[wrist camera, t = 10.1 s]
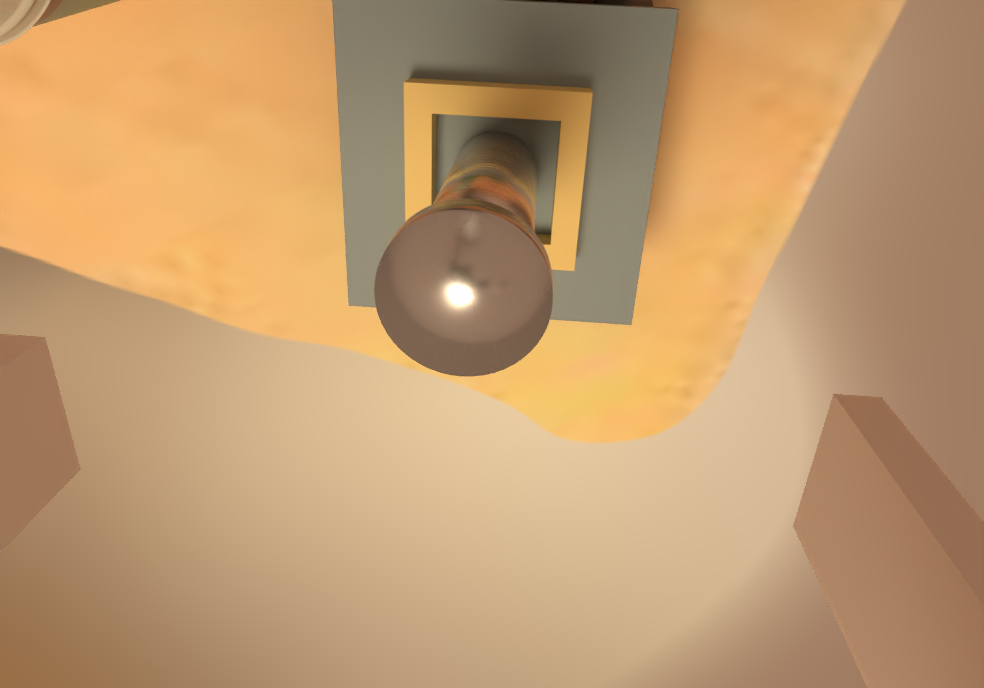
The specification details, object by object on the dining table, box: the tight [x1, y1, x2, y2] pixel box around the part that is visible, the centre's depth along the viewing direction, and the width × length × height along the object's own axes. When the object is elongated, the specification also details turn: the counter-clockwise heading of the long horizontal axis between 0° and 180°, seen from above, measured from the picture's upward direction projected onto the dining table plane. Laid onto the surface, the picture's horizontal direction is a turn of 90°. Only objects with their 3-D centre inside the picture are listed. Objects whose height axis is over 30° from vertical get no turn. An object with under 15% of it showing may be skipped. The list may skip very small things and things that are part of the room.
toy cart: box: [332, 0, 679, 325], centre depth 30 cm, size 13×12×9 cm
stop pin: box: [374, 131, 553, 376], centre depth 22 cm, size 4×4×12 cm
